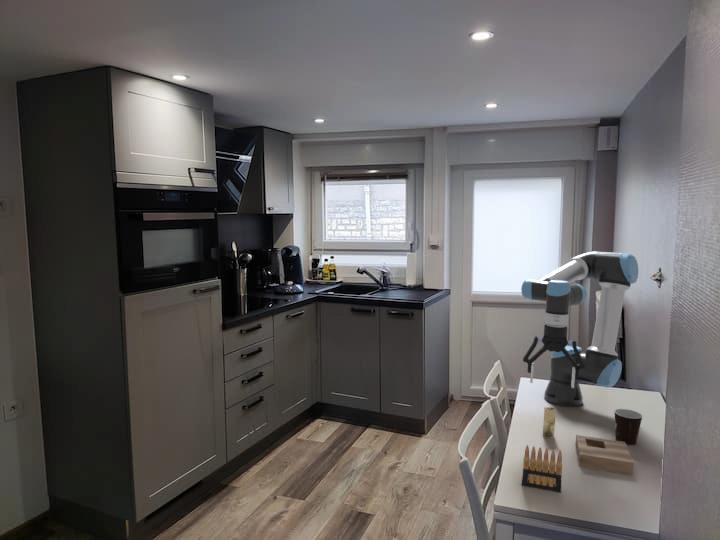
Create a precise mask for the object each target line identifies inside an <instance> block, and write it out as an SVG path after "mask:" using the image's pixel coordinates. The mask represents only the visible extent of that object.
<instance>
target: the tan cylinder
mask: <svg viewBox="0 0 720 540" xmlns="http://www.w3.org/2000/svg"><path fill="white" fill-rule="evenodd" d="M543 411H544V412H543V425H542V426H543V427H542V436H543V437H544V436H545V438H547V437H549V438H548V439H550V437H553V438H554V437H555V429H556V428H555V427H556V426H555V424H556V413H557V409H556V408H555V407H553V406H544V408H543Z"/></svg>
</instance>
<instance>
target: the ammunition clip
mask: <svg viewBox="0 0 720 540" xmlns="http://www.w3.org/2000/svg"><path fill="white" fill-rule="evenodd" d="M536 453H537V456H536ZM562 473H563V455H562V451H561V450H559V451H558V453H557V459H556V452H555V449H554V448H553V449H552V450H551V454H550V457H549V449H548V448H547V447H546V448H545V451H544V454H543V451H542V447H541V446H540V447H539V448H538V450H537V452H536V447H535V446H534V445H533V446H532V449H531V453H530V447H529V445H528V444H526V446H525V450H524V456H523V463H522V475H521V486H523V487H527V488H534V489H539V490H543V491H544V490H545V491H551V492H555V493H560V494H561V493H562V478H563V477H562Z"/></svg>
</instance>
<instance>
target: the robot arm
mask: <svg viewBox="0 0 720 540" xmlns="http://www.w3.org/2000/svg"><path fill="white" fill-rule="evenodd" d="M638 264H639V263H638V261H637V258H636V256H634V255H633V254H631V253H624V252H610V251H609V252H608V251H588V252H584V253H582V254H578V255H575V256H573V257H571V258H570V259H568V260H567V261H566V263H565V264H564V265H562V266H559V267H558V268H556V269H555V270H553V271H551V272H549V273H547V274H545V275H543V276H541V277H540V278H538V279H525V280H524V281H523V282H522V285H521V289H520V290H521V295H522V297H523V298H524V299H528V300H531V301H538V302H545V313H544V323H545V325H544V327H543V336H542V337H539V336H537V335H535V336H534V337H533V342H532V344H531V345H530V347H529V348H528V349H527V351H526V352H525V355H524V356H523V358H522V361H523V362H524V363H526V364H527V373H528V374H530V380H529V383H530V384H534V383H533V381H534V365H535V364H534V363H535V361H537V360H538V358H540V357H541V356H542V355H543V354H544V353H546V351H548V352H551V357H550V372H549V374H550V375H549V381H548V384H547V386H546V388H545V391H544V400H545V401H547V402H549V403H551V404H553V405H554V404H555V405H558V406H562V407H577V406H581V405H582V404H583V400H584V399H583V398H584V397H583V394H582V390H581V386H580V381H581V382H583V383H584V382H585V383H587V384H592V385H595V386H597V387H603V388H604V387H605V388H611V387H613V386H615V385H616V383H617V382H618V381H619V378H620V377H621V374H622V368H623V366H622V365H623V363H622V361H621V360H620V359H619V354H618V353H617V352H616V350H615V349H616V344H617V339H618V333H619V327H620V323H621V317H622V310H623V305H624V298H625V292H627V291H628V290H629V289H631V284H635V283H636V282H637V281H638V279H639V265H638ZM584 279H591V280H592V279H593V280H598V285H599V286H600V287H601V290H600V296H599V300H598V308H597V312H596V318H595V324H594V329H593V335H592V340H591V345H590V346H589V347H587V348H586V350H585V352H583V349H582V347H580V346H577V341H576V340H575V339H572V340H568V339H567V338H568V323H569V311H570V310H569V309H570V307H572V306H578V305H580V304H582V303H584V302H585V300H586V298H587V296H588V295H587V290H586V288H585V287H584V286H583V285H582V284H579V283H574V282H575V281H581V280H584ZM540 343H542V344H543V346H542V347H541V348H540V349H539V350H538V351H537V352H535V353H534V354H533V355H532V356H531V354H532V353H533V352H534V351H535V349H536V347H537V345H539V344H540ZM530 356H531V357H530Z"/></svg>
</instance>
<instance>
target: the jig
mask: <svg viewBox="0 0 720 540" xmlns="http://www.w3.org/2000/svg"><path fill="white" fill-rule="evenodd" d="M574 445H575V446H576V447H575V452H576V456H577V457H578V458H577V457H576V458H577V463H578V467H580V466H581V468H587V469H593V470H599V471H604V472H611V473H615V474H617V473H618V474H623V475H630V476H633V474H634V460H633V457H632V454H631V452H630V450H629V448H628V445H626V443H625V442H621V441H616V439H615V440H614V439H607V438H599V437H593V436H588V435H580V434H576V435H575V444H574Z"/></svg>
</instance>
